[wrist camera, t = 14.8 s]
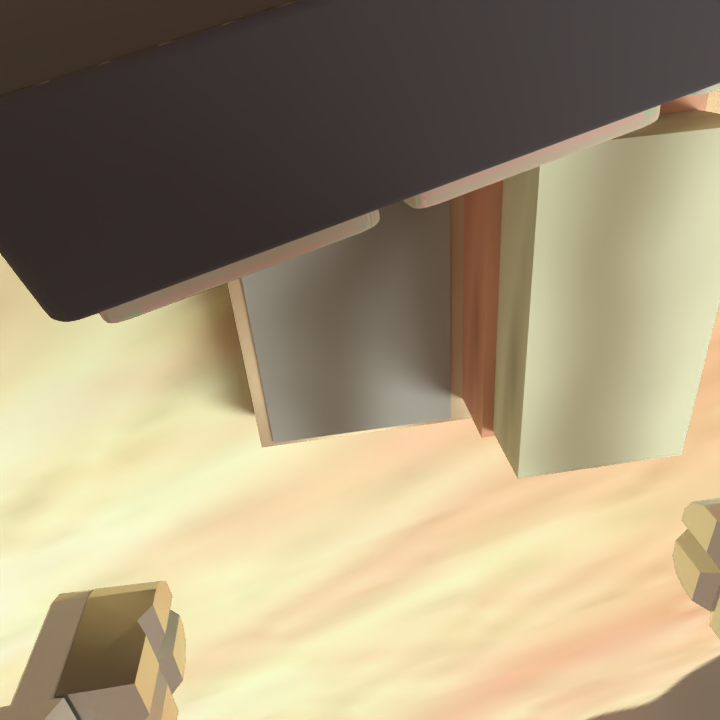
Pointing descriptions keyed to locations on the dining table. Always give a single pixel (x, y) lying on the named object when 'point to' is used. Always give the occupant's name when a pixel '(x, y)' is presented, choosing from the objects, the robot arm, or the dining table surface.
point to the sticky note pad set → (509, 308)
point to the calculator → (295, 123)
